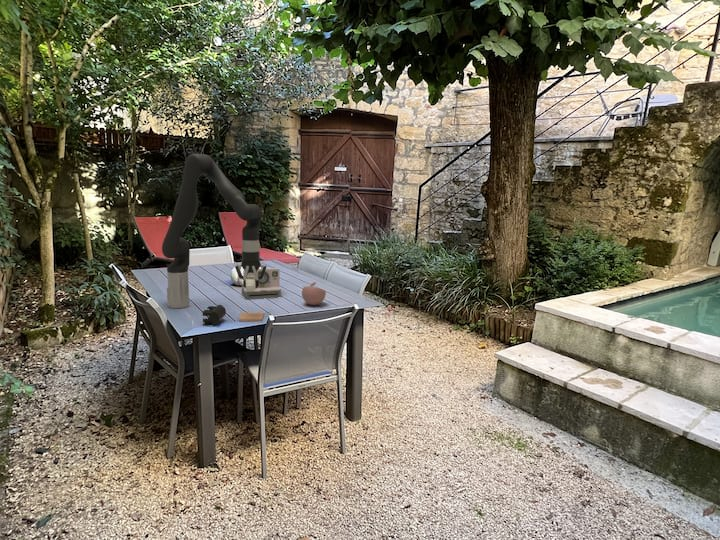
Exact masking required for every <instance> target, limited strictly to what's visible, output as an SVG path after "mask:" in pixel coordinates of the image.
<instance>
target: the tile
mask: <svg viewBox="0 0 720 540" xmlns="http://www.w3.org/2000/svg"><path fill="white" fill-rule="evenodd" d="M263 316H265V312H241V314H240V315H239V318H238V322H263V320H262V319H264V317H263Z"/></svg>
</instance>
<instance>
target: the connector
mask: <svg viewBox="0 0 720 540" xmlns="http://www.w3.org/2000/svg"><path fill="white" fill-rule="evenodd" d="M255 280H256V278H255V276H248V277H247V278H246V291H255V290H256V283H255Z"/></svg>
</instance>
